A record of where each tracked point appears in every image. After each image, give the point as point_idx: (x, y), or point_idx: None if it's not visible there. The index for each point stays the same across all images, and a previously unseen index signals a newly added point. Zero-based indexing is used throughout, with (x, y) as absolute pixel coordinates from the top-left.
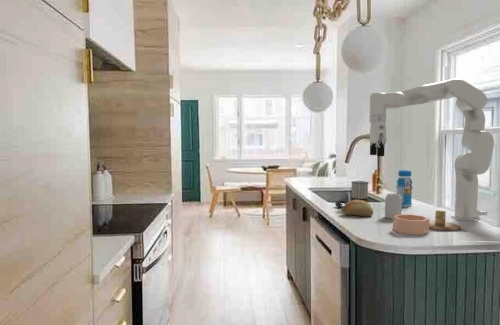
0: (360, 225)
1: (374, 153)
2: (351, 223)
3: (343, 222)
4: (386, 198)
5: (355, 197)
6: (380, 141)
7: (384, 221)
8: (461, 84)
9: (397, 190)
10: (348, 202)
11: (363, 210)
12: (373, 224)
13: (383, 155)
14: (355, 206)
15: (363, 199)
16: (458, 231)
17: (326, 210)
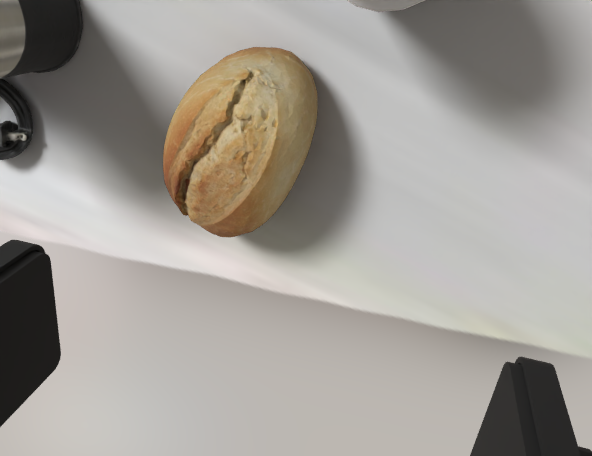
0: (533, 264)
1: (31, 311)
2: (466, 283)
3: (429, 308)
4: (385, 10)
5: (8, 72)
6: None
7: (474, 58)
8: None
9: None
10: (214, 223)
11: (309, 146)
12: (536, 180)
13: (547, 384)
14: (279, 199)
15: (27, 11)
16: None
17: (95, 239)
